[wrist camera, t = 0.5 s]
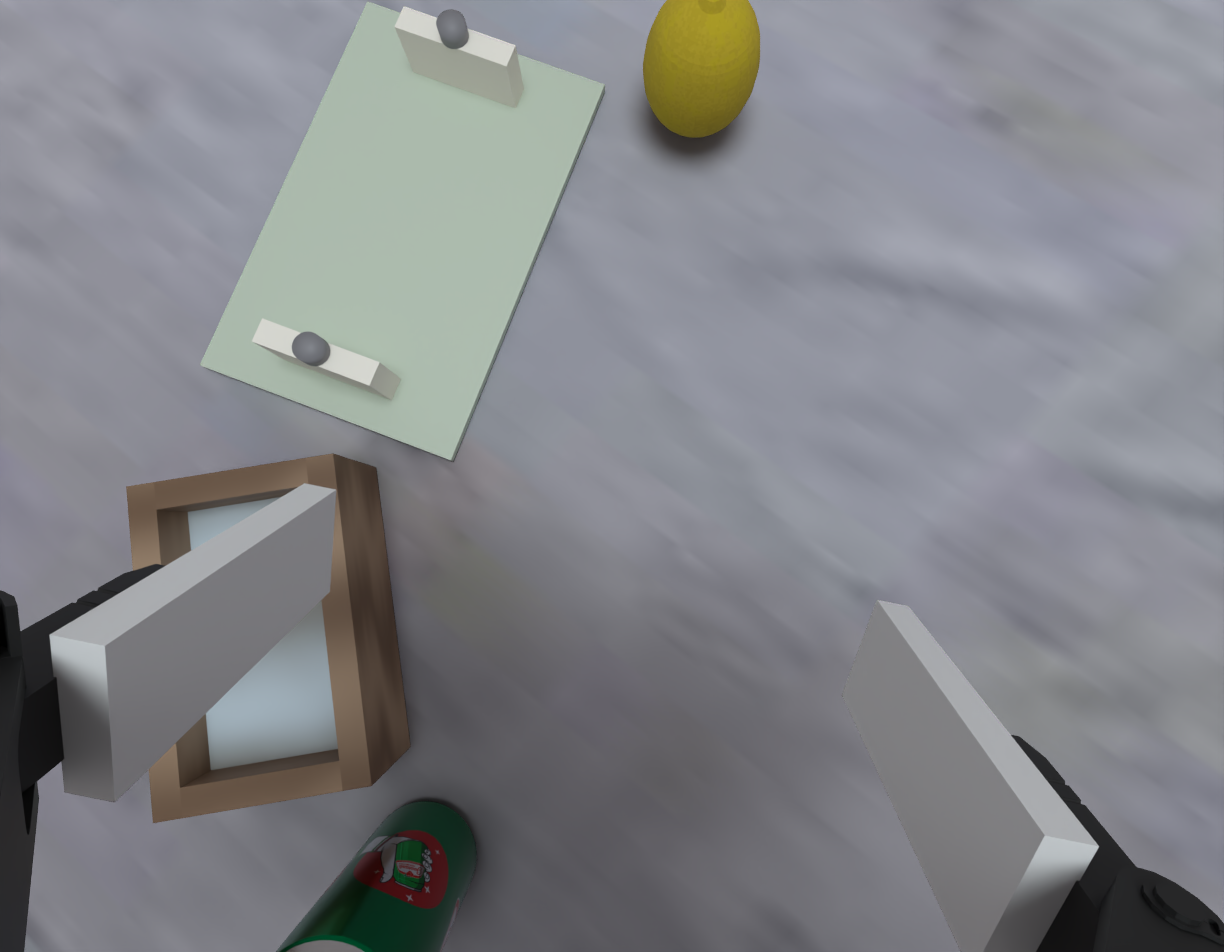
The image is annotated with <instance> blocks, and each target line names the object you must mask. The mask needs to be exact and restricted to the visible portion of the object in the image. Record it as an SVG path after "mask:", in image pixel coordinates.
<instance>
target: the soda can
mask: <svg viewBox="0 0 1224 952" xmlns="http://www.w3.org/2000/svg"><path fill="white" fill-rule="evenodd" d="M475 866H476V846H475V841H474V838H473V835H472V833H471V831H470V828H469V827H468V825H467V824H466V822H465V821H464V820H463V819H462V817H461V816H460V815H459V814H457V813H456V812H455V811H454V810H452V809H451V808H449V807H447V806H445V805H442V804H439V803H435V802H429V801H420V802H414V803H410V804H407V805H405V806H403V807H401V808H399V809H397V810H395V811H394V812H393V813H391V814H390V815H389V816H388V817H387V818H386V819H385V820H384V821H383V822H382V824H381V825H380V826H379V827H378V828H377V830H376V831H375V832H374V833H373V834H372V836H371V837H370V838H369V839H368V841H367V842H366V843H365V844H364V845H363V847H362V848H361V849H360V850H359V851H358V853H357V854H356V855H355V856H354V857H353V859H352V860H351V861H350V862H349V864H348V865H347V866H346V867H345V868H344V870H343V871H342V872H341V873H340V874H339V876H338V877H337V878H336V879H335V881H334V882H333V883H332V884H331V885H330V887H329V888H328V889H327V890H326V891H325V893H324V894H323V895H322V896H321V897H320V899H319V900H318V901H317V902H316V904H315V905H314V906H313V907H312V908H311V910H310V911H309V912H308V913H307V914H306V916H305V917H304V918H303V919H302V920H301V922H300V923H299V924H298V925H297V927H296V928H295V929H294V930H293V931H292V933H291V934H290V935H289V936H288V937H287V939H286V940H285V941H284V942H283V943H282V945H281V946H280V947H279V948H278V950H277V951H276V952H442V950H443V947H444V945H445V942H446V940H447V938H448V935H449V933H450V930H451V928H452V926H453V923H454V921H455V919H456V916H457V914H458V911H459V909H460V907H461V904H462V902H463V899H464V897H465V895H466V892H467V890H468V887H469V885H470V883H471V880H472V878H473V875H474V871H475Z"/></svg>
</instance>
